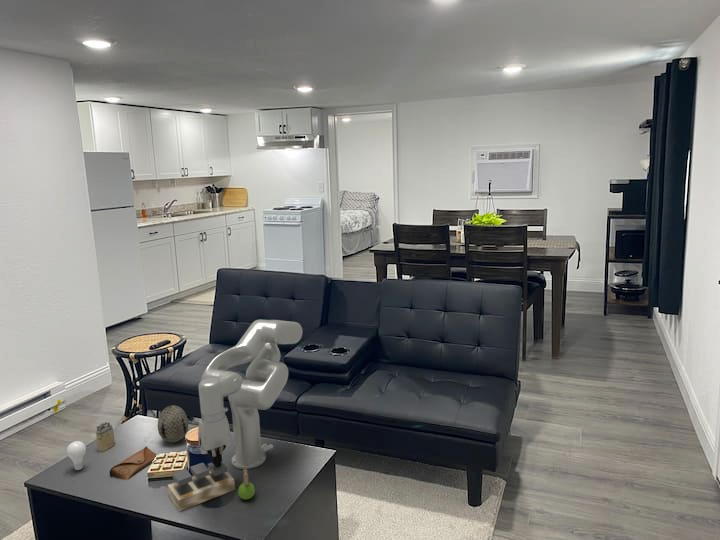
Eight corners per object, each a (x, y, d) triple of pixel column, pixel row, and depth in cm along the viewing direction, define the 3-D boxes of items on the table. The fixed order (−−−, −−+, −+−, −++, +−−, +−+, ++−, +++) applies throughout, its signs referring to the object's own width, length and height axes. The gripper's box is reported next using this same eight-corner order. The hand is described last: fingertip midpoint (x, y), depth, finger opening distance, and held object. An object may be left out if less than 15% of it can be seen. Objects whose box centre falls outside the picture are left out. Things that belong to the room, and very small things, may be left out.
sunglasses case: (127, 481, 197) (118, 464, 197) (115, 486, 200) (106, 470, 200) (163, 456, 213) (155, 440, 213) (152, 461, 216) (144, 446, 216)
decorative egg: (195, 436, 228) (192, 402, 225) (176, 450, 217) (172, 414, 214) (173, 432, 232) (169, 398, 229) (152, 445, 222) (149, 410, 219)
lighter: (110, 442, 225) (107, 419, 223) (117, 444, 223) (114, 421, 221) (96, 450, 219) (92, 427, 217) (103, 452, 217) (100, 429, 215)
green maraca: (239, 506, 181) (236, 472, 178) (238, 495, 187) (235, 462, 184) (256, 502, 182) (254, 469, 180) (254, 492, 188) (252, 459, 186)
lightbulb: (65, 473, 203) (61, 445, 201) (78, 464, 209) (75, 436, 207) (79, 475, 201) (75, 447, 199) (92, 466, 207) (88, 439, 205)
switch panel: (222, 475, 199) (221, 465, 198) (235, 489, 190) (234, 478, 189) (168, 495, 188) (167, 484, 187) (179, 511, 179) (178, 499, 178)
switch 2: (220, 468, 195) (219, 459, 194) (227, 476, 190) (226, 466, 190) (208, 472, 192) (207, 463, 192) (215, 480, 188) (214, 471, 187)
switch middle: (203, 471, 191) (202, 462, 191) (210, 479, 187) (209, 469, 186) (191, 475, 189) (190, 466, 188) (197, 483, 184) (196, 474, 183)
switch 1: (186, 477, 188) (185, 468, 187) (192, 485, 183) (191, 476, 182) (173, 482, 185) (172, 473, 185) (179, 490, 181) (178, 480, 180)
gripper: (229, 405, 194) (233, 453, 198) (187, 417, 186) (192, 467, 189) (238, 412, 188) (242, 461, 192) (195, 425, 180) (200, 477, 184)
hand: (217, 464), depth 191 cm, fingers closed
